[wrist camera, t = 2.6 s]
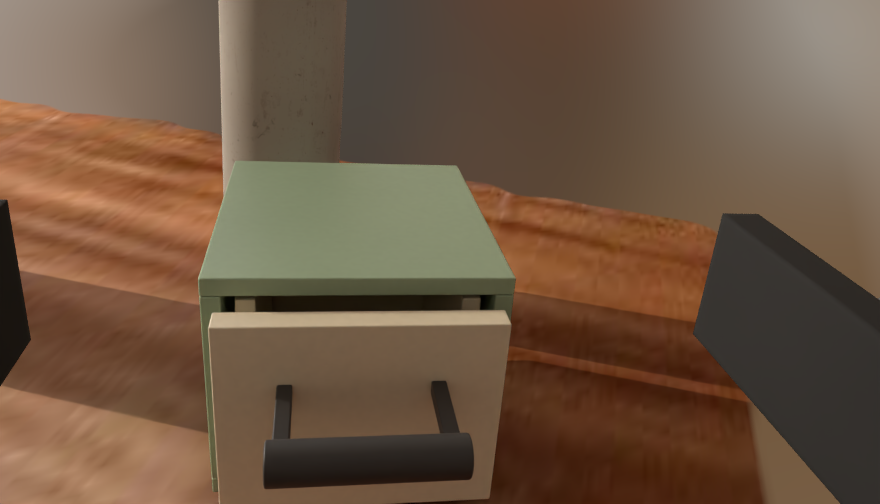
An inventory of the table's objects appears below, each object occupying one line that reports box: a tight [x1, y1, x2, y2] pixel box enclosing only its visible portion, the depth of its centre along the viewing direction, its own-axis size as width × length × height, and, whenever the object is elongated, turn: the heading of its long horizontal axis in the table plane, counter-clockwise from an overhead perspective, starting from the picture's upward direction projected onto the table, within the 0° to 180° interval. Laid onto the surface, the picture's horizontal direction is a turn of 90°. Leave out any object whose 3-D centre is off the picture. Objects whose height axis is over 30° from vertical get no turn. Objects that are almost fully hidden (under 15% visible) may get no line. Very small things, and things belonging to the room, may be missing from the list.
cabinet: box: [198, 161, 516, 492], centre depth 39 cm, size 15×13×11 cm
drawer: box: [208, 295, 512, 504], centre depth 34 cm, size 18×11×9 cm, turn 8°
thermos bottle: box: [219, 0, 347, 195], centre depth 50 cm, size 8×8×28 cm
